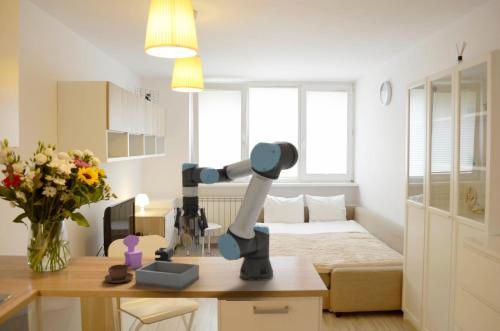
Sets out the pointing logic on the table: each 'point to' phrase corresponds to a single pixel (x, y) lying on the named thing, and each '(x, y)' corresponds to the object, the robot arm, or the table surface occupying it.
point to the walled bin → (167, 274)
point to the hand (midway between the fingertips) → (191, 243)
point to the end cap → (164, 254)
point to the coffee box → (190, 233)
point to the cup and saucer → (118, 274)
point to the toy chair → (132, 252)
